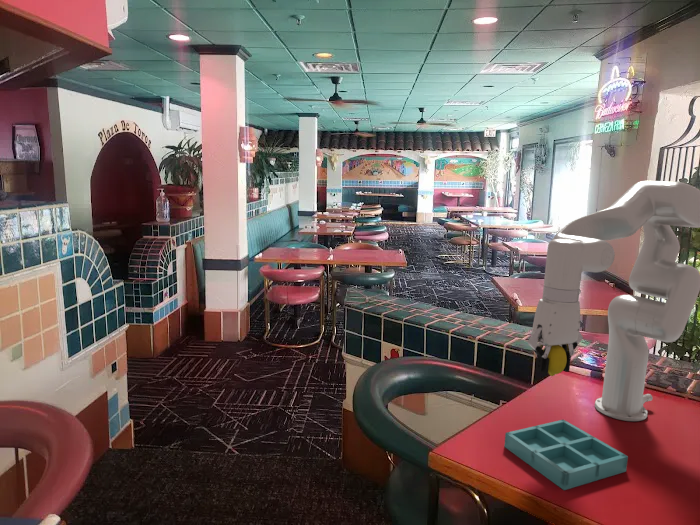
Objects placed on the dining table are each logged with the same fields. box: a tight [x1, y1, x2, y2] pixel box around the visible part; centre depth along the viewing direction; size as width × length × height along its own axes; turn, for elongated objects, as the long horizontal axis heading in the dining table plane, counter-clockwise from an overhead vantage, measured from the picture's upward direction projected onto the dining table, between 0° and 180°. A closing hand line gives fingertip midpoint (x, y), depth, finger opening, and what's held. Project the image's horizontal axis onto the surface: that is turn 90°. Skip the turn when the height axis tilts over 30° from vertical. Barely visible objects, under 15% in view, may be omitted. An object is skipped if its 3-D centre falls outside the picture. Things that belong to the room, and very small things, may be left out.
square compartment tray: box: [504, 419, 629, 491], centre depth 116 cm, size 18×18×4 cm
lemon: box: [542, 345, 567, 377], centre depth 120 cm, size 6×6×8 cm
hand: (552, 370), depth 120 cm, fingers closed on lemon, 5 cm apart
